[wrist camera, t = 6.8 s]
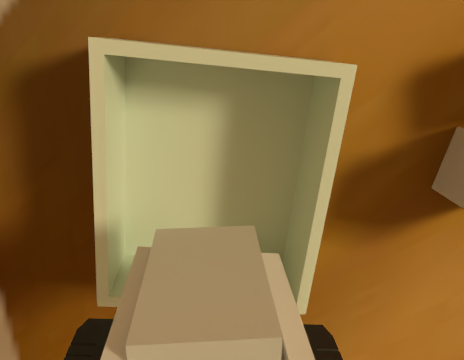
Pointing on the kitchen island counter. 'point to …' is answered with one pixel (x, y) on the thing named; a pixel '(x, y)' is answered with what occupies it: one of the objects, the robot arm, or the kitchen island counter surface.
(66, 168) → the kitchen island counter surface
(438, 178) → the stone
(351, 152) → the kitchen island counter surface
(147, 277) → the stone
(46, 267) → the kitchen island counter surface
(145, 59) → the bin
